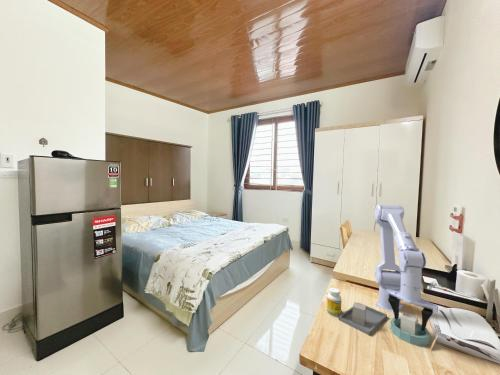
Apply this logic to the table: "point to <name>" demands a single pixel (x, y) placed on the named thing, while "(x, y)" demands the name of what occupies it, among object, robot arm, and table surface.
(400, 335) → the bowl
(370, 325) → the tray
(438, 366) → the table surface
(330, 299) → the supplement bottle
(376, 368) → the table surface
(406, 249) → the robot arm
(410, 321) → the beige rectangular block
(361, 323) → the light gray rectangular block
